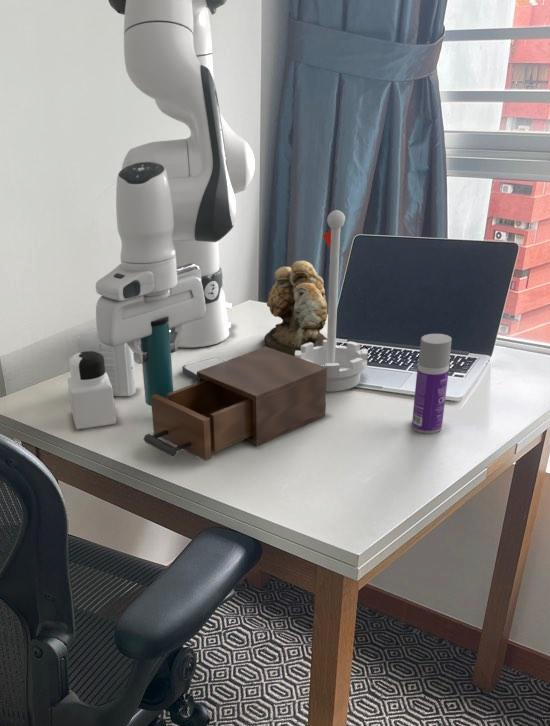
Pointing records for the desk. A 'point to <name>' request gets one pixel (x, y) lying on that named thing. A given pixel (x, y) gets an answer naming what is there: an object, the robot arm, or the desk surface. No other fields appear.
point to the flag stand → (338, 359)
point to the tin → (157, 360)
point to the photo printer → (112, 362)
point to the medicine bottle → (90, 391)
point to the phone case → (199, 367)
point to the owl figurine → (297, 308)
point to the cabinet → (273, 390)
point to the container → (431, 383)
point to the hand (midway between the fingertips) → (156, 357)
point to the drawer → (200, 419)
